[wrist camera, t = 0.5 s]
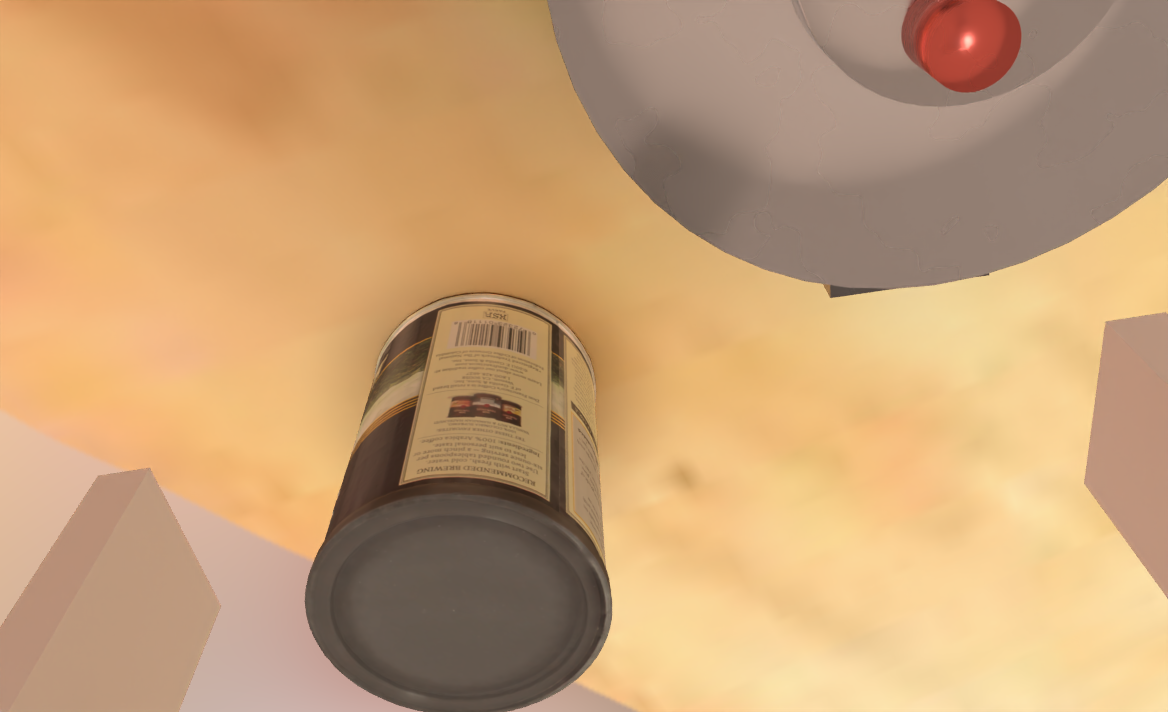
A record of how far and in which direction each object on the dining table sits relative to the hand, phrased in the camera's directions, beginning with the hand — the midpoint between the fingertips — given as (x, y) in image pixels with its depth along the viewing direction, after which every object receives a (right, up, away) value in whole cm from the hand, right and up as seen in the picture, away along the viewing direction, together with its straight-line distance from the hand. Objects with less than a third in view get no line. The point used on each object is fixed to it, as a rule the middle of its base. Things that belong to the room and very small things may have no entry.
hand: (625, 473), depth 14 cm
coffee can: (-5, 0, +31) cm, 32 cm away
